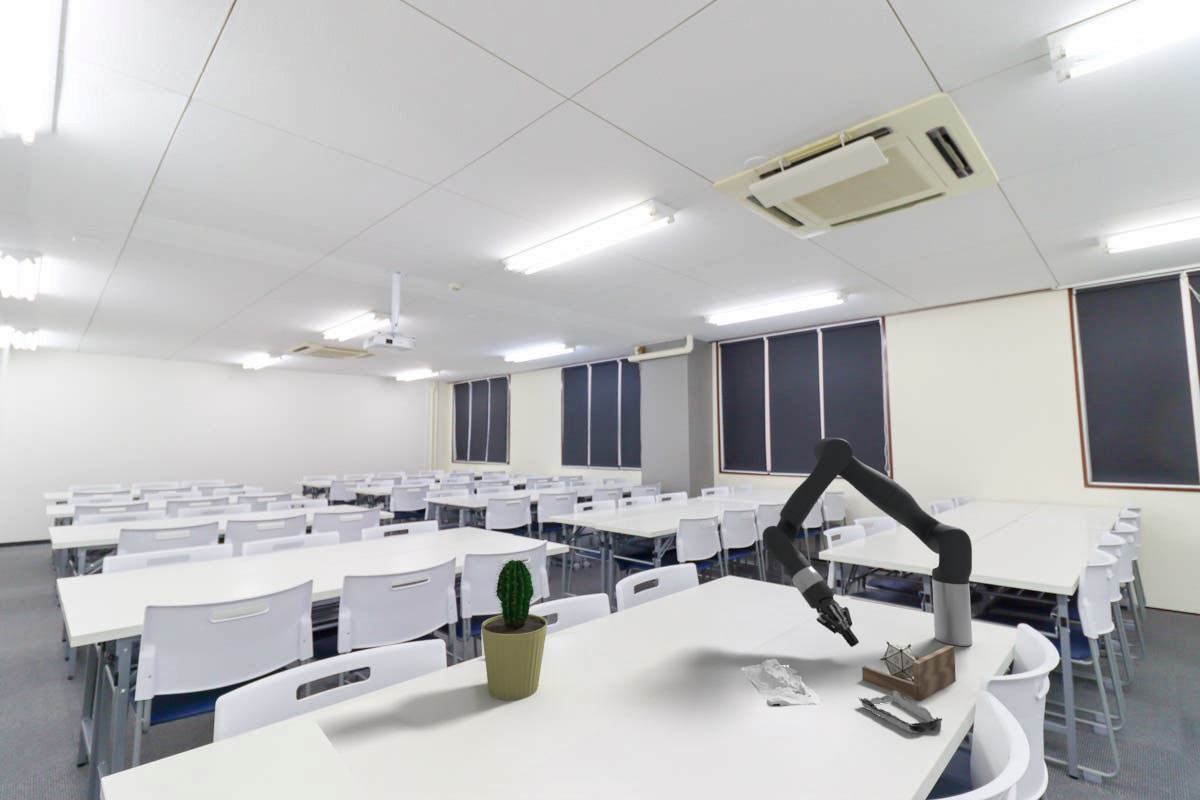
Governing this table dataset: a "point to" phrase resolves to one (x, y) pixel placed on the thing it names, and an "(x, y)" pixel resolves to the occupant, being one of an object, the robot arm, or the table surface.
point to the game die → (899, 661)
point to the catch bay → (919, 675)
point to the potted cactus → (514, 637)
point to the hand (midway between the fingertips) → (855, 644)
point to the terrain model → (780, 684)
